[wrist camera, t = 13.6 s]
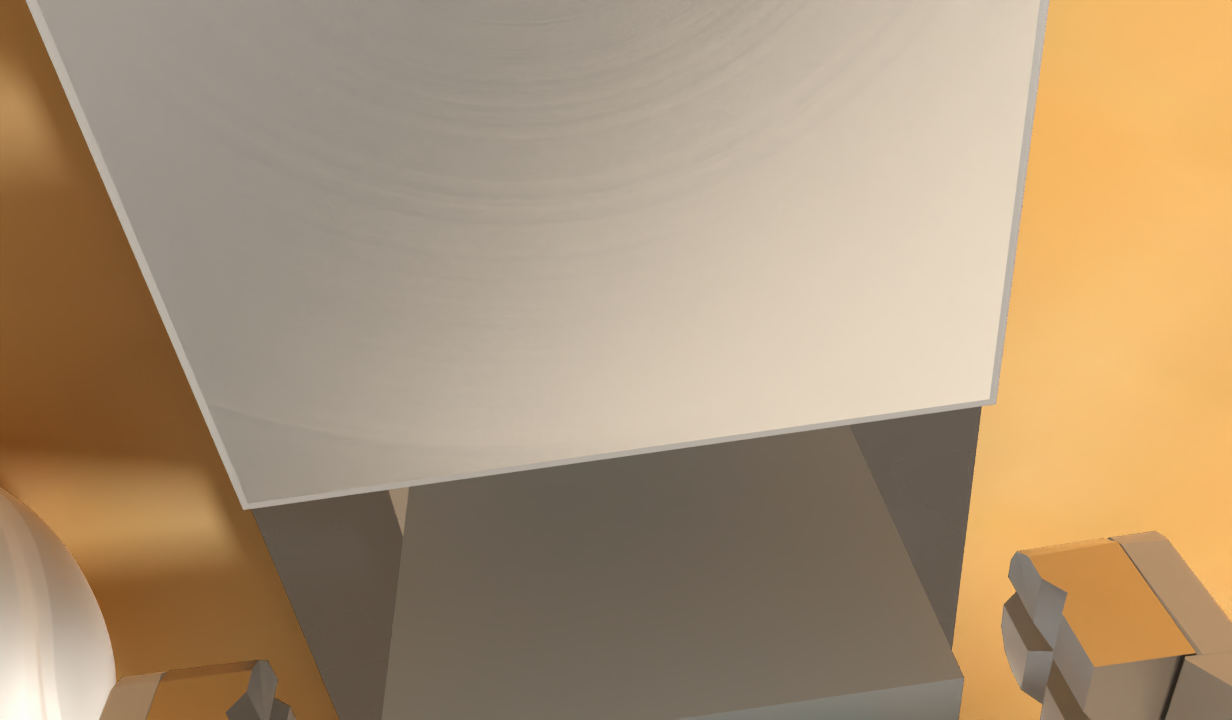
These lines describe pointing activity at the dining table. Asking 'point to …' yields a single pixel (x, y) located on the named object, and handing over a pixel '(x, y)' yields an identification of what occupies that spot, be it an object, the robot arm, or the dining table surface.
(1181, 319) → the dining table surface
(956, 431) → the rail panel
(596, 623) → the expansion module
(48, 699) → the white lumpy ball
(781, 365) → the plate
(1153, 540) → the robot arm
